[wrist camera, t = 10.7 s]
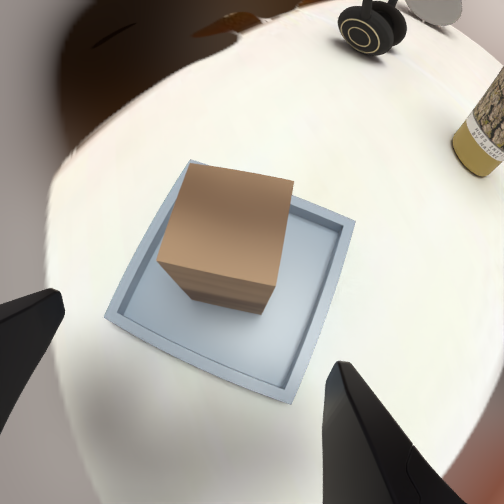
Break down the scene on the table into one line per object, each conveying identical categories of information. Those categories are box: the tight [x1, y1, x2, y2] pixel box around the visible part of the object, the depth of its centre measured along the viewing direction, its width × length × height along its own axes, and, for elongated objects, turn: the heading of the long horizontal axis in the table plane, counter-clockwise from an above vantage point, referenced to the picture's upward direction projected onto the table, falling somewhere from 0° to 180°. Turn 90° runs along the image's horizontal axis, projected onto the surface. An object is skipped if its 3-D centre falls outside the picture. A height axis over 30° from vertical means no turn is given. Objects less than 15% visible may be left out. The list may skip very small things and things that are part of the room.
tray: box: [104, 159, 356, 404], centre depth 20 cm, size 14×14×2 cm
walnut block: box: [156, 163, 294, 315], centre depth 17 cm, size 5×5×9 cm
